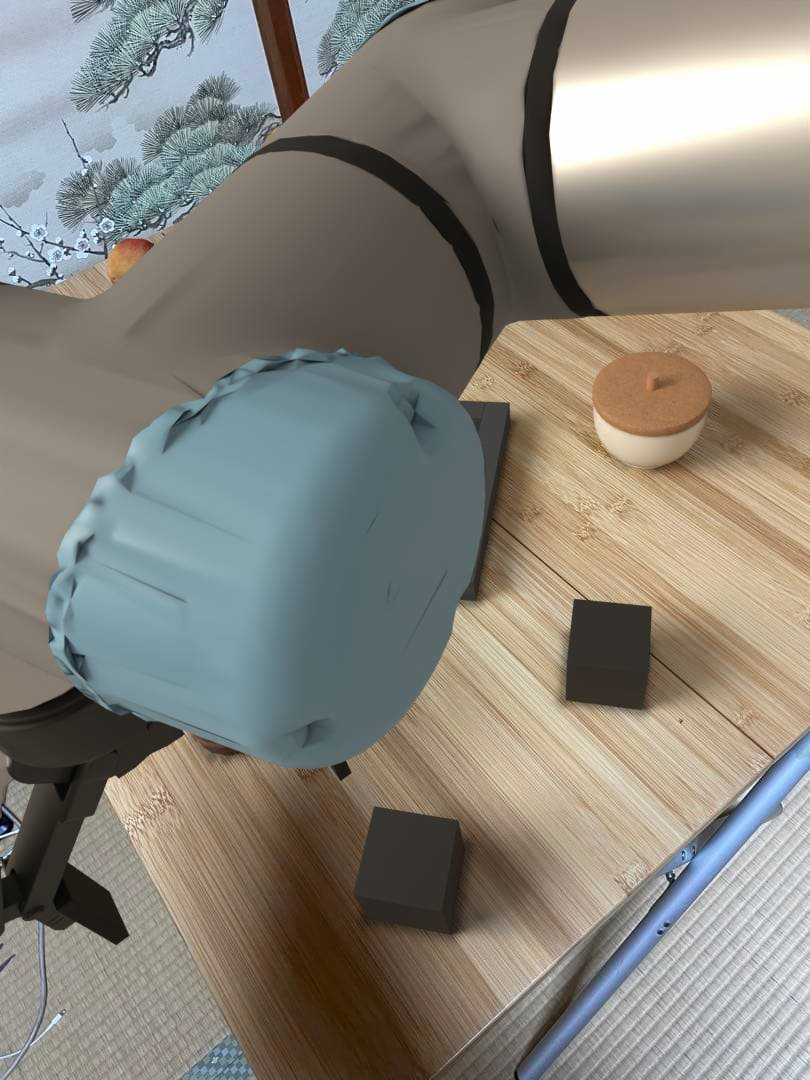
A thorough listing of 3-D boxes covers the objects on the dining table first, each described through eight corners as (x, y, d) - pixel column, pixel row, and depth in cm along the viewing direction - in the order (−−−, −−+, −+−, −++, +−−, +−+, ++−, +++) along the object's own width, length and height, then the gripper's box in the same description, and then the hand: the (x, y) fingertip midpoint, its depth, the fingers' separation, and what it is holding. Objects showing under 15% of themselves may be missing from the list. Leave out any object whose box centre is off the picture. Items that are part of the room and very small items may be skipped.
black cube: (642, 710, 66) (649, 673, 61) (565, 700, 68) (566, 663, 63) (645, 645, 70) (652, 605, 65) (572, 637, 71) (573, 598, 66)
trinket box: (628, 502, 79) (636, 432, 72) (569, 434, 86) (571, 363, 78) (724, 459, 81) (741, 386, 74) (658, 396, 87) (668, 323, 80)
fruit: (112, 298, 113) (87, 246, 107) (160, 271, 115) (138, 218, 109) (139, 321, 109) (114, 268, 102) (189, 293, 111) (167, 239, 105)
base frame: (510, 423, 88) (509, 402, 86) (476, 601, 75) (473, 582, 72) (395, 417, 91) (391, 396, 88) (342, 587, 78) (336, 568, 75)
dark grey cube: (450, 935, 58) (442, 912, 53) (368, 918, 59) (352, 894, 55) (465, 848, 61) (458, 819, 57) (386, 835, 63) (373, 805, 58)
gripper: (294, 389, 34) (378, 656, 50) (-361, 760, 27) (-14, 927, 43) (400, 493, 29) (454, 747, 46) (-346, 965, 22) (33, 1064, 39)
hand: (227, 835), depth 45 cm, fingers open, 13 cm apart
